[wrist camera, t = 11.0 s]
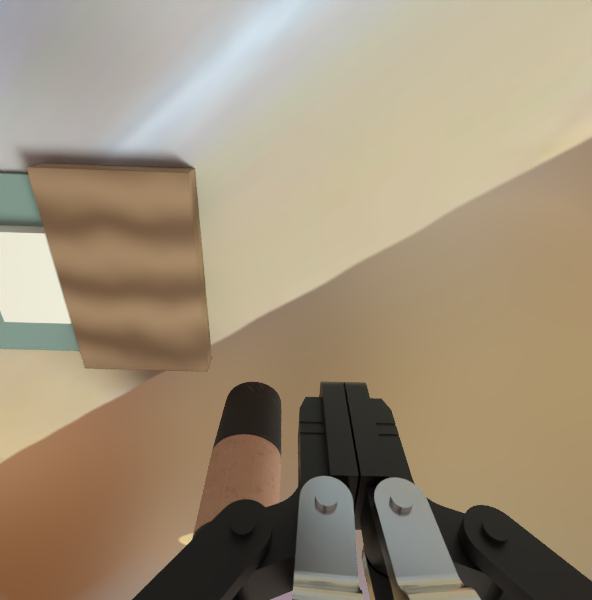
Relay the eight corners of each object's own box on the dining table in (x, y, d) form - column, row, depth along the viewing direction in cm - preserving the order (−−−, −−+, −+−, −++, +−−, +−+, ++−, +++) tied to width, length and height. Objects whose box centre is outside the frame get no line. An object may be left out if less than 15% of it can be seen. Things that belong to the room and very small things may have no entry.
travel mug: (281, 425, 51) (273, 599, 33) (224, 421, 50) (186, 595, 33) (285, 381, 47) (279, 550, 30) (224, 377, 47) (181, 545, 29)
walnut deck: (43, 163, 35) (26, 167, 32) (194, 168, 35) (188, 173, 33) (95, 355, 45) (85, 368, 43) (211, 358, 45) (207, 371, 43)
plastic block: (-16, 224, 37) (-32, 231, 35) (56, 227, 37) (44, 233, 35) (16, 312, 42) (4, 321, 40) (80, 314, 42) (70, 323, 40)
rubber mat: (-100, 169, 35) (-106, 170, 34) (41, 174, 35) (37, 175, 35) (-22, 345, 44) (-25, 348, 44) (89, 348, 45) (86, 351, 44)
